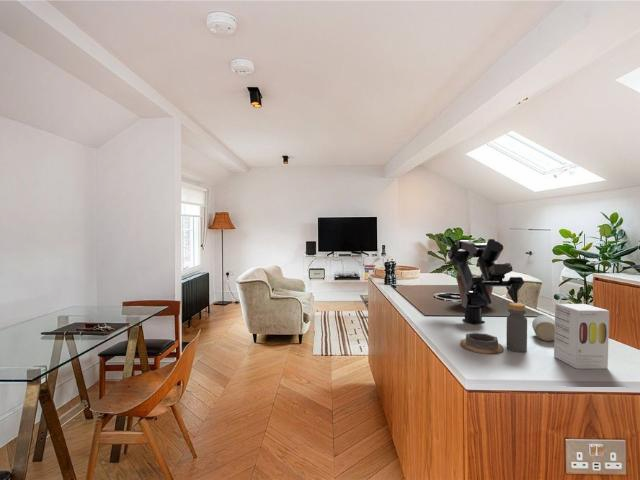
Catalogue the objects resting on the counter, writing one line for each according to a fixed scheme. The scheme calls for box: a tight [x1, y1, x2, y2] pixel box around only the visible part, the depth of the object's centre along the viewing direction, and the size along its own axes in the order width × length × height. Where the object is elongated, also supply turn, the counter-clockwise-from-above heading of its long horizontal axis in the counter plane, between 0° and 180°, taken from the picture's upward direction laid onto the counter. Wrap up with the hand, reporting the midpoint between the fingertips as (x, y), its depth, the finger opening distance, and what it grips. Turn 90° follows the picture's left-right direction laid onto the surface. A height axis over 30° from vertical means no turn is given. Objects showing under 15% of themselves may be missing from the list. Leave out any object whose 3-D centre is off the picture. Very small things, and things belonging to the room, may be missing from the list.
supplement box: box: [553, 303, 610, 370], centre depth 98 cm, size 10×9×17 cm
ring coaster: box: [460, 332, 504, 355], centre depth 112 cm, size 13×13×3 cm
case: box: [455, 270, 494, 308], centre depth 173 cm, size 18×20×18 cm
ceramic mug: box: [531, 314, 555, 342], centre depth 119 cm, size 11×8×8 cm
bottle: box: [506, 302, 528, 353], centre depth 109 cm, size 6×6×15 cm
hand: (503, 303), depth 117 cm, fingers open, 9 cm apart
